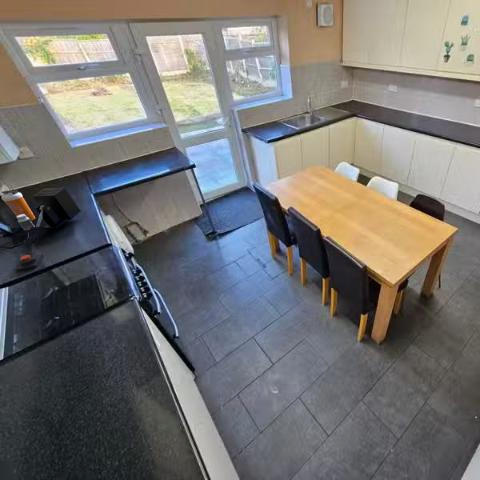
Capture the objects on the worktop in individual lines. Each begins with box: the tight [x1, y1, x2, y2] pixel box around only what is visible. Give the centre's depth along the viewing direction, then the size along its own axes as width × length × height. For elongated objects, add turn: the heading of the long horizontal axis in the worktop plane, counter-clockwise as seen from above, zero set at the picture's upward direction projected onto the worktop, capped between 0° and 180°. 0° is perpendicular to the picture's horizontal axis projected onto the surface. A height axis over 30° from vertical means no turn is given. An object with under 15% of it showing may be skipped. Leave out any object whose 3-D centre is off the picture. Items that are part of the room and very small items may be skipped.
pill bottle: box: [15, 214, 36, 231], centre depth 167 cm, size 5×5×9 cm
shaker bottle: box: [1, 189, 36, 222], centre depth 171 cm, size 9×9×20 cm
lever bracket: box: [34, 204, 68, 230], centre depth 168 cm, size 10×8×14 cm
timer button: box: [19, 254, 31, 262], centre depth 141 cm, size 4×4×2 cm
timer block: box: [15, 253, 45, 272], centre depth 142 cm, size 10×8×4 cm
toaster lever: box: [30, 206, 44, 231], centre depth 163 cm, size 15×6×2 cm
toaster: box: [32, 187, 82, 221], centre depth 174 cm, size 10×13×18 cm
